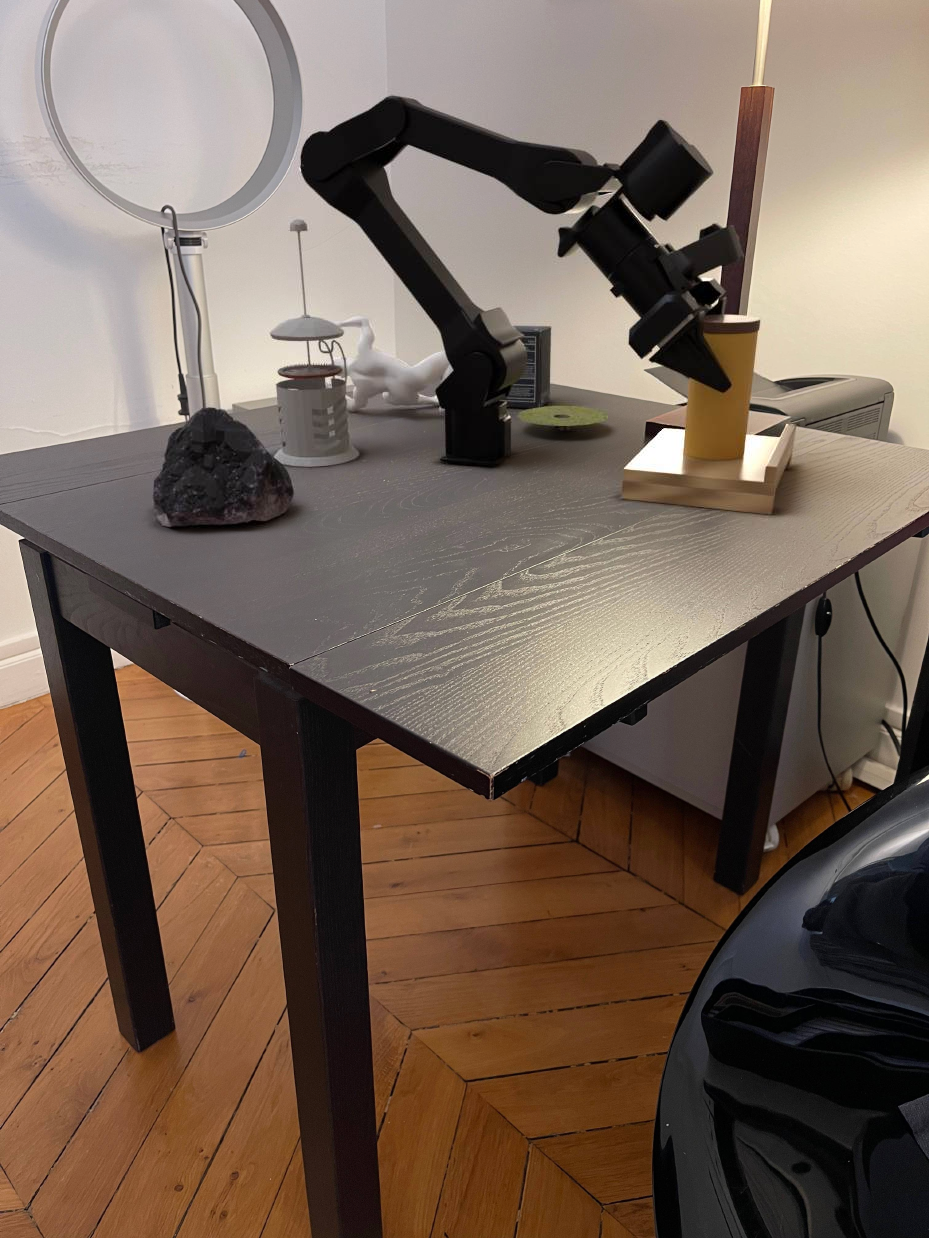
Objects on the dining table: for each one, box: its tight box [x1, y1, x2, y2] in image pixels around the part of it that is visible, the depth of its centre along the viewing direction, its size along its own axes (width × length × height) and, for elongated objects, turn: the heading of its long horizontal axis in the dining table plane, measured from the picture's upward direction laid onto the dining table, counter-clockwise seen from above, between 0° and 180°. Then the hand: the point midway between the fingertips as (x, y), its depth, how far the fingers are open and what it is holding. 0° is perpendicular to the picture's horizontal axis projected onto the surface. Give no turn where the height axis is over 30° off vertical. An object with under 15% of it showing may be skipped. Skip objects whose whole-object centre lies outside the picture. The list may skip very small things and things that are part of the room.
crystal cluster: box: [152, 406, 295, 528], centre depth 87 cm, size 13×14×10 cm
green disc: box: [516, 405, 609, 431], centre depth 116 cm, size 11×11×2 cm
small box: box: [499, 325, 552, 409], centre depth 130 cm, size 11×6×10 cm, turn 71°
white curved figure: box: [325, 315, 453, 414], centre depth 124 cm, size 13×13×18 cm
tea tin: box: [683, 314, 761, 460], centre depth 91 cm, size 6×6×13 cm
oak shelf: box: [620, 423, 797, 515], centre depth 94 cm, size 14×18×4 cm
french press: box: [269, 218, 360, 468], centre depth 102 cm, size 10×12×25 cm
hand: (735, 381), depth 90 cm, fingers open, 9 cm apart
